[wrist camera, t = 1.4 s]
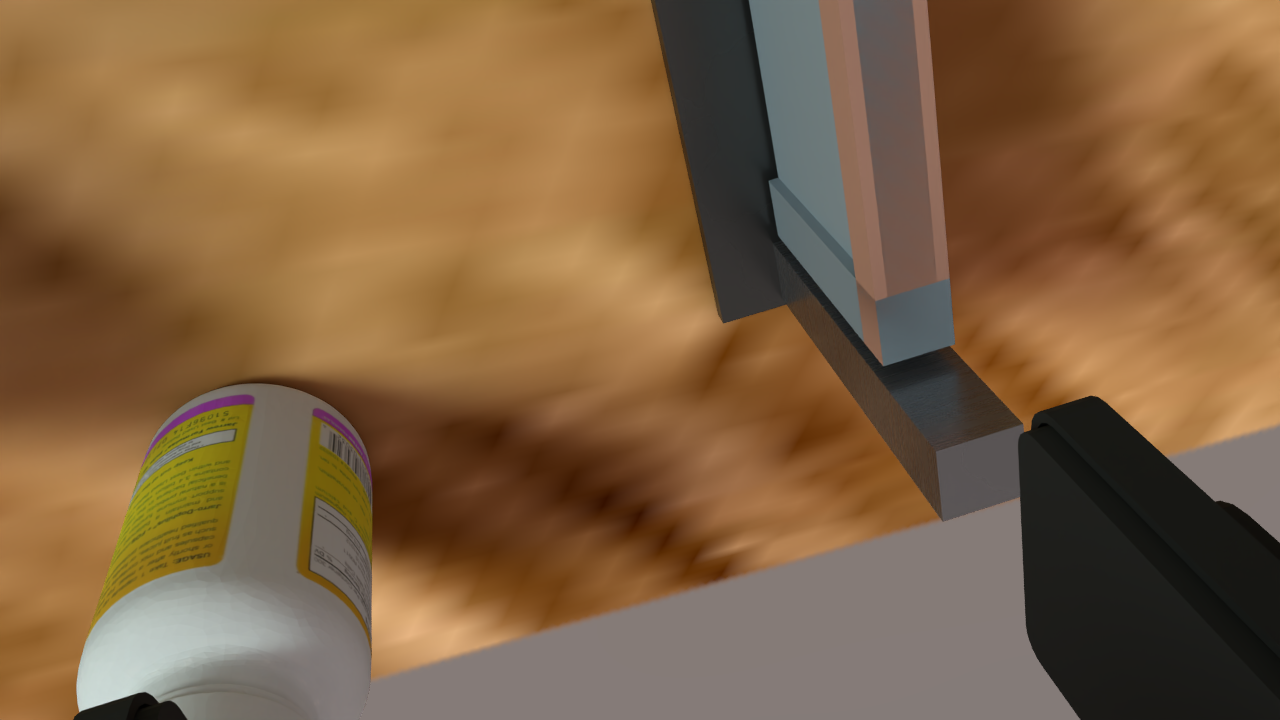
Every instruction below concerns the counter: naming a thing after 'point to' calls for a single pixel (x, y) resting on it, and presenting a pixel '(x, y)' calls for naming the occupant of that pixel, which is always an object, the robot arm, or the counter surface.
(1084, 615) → the robot arm
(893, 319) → the gate
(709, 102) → the gate frame
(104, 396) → the counter surface
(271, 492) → the supplement bottle
